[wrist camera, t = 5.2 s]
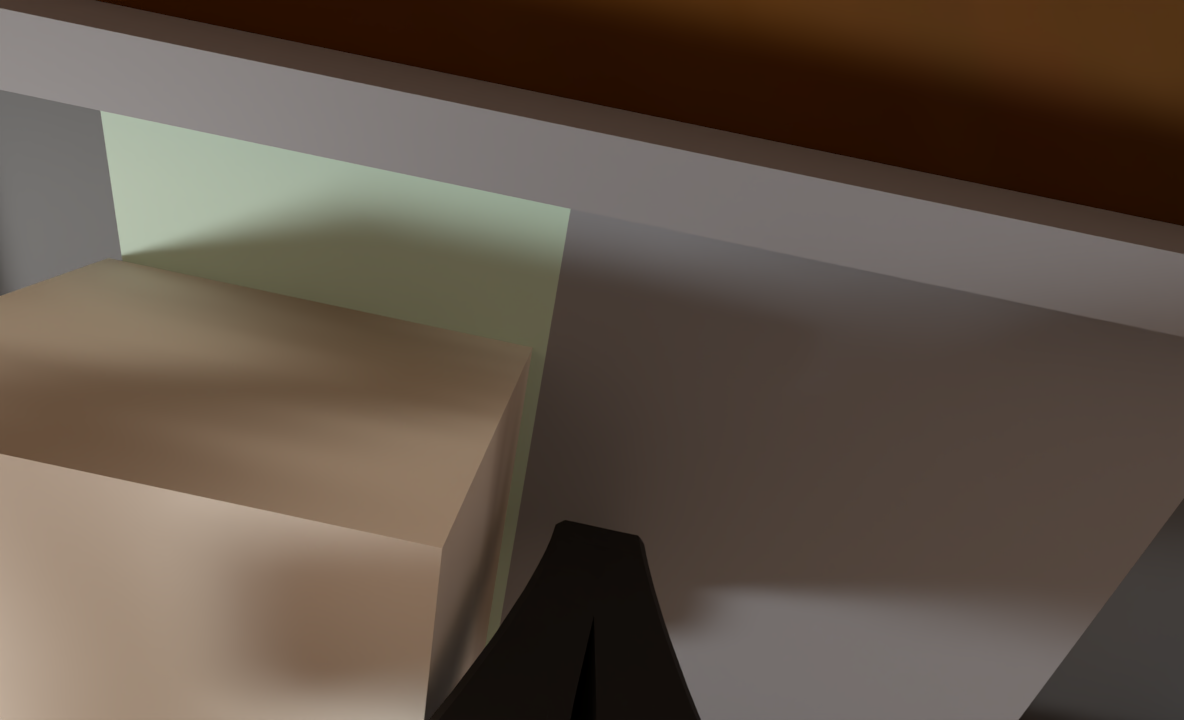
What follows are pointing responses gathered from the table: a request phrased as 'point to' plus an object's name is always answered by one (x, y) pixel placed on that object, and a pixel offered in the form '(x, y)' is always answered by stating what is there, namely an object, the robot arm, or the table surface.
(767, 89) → the table surface
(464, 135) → the gray tray
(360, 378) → the cream block
